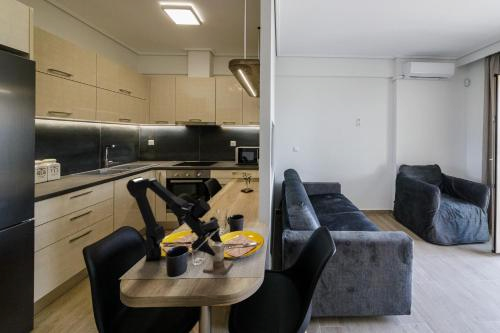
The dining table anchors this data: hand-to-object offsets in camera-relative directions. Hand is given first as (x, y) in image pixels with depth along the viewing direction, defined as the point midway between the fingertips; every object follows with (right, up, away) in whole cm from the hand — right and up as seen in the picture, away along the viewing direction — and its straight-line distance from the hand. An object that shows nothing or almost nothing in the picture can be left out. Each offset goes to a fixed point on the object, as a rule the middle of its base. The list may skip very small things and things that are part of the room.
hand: (219, 250), depth 119 cm
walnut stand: (0, -8, +1) cm, 8 cm away
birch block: (-1, -4, +1) cm, 4 cm away
